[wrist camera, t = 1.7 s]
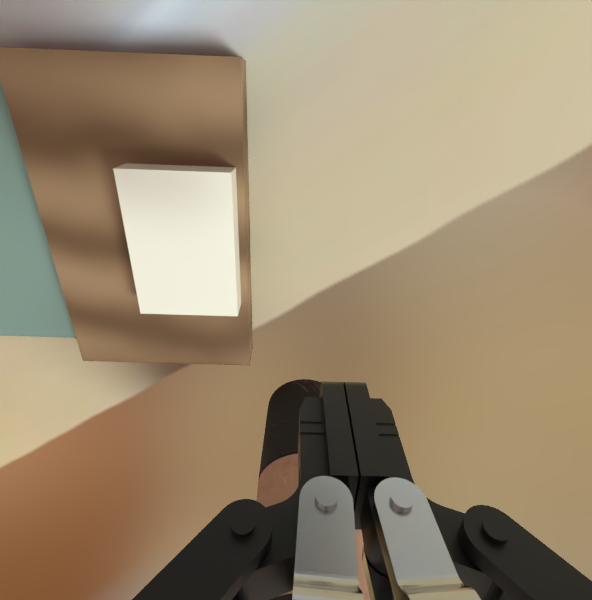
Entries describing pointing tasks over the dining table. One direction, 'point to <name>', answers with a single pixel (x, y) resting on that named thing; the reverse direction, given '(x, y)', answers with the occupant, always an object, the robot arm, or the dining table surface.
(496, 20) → the dining table surface
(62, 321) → the rubber mat
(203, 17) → the dining table surface
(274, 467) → the travel mug
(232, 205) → the plastic block
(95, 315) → the board
